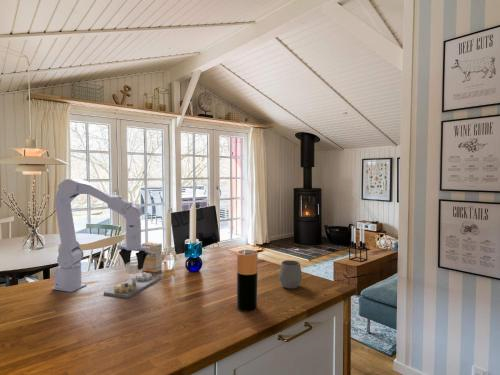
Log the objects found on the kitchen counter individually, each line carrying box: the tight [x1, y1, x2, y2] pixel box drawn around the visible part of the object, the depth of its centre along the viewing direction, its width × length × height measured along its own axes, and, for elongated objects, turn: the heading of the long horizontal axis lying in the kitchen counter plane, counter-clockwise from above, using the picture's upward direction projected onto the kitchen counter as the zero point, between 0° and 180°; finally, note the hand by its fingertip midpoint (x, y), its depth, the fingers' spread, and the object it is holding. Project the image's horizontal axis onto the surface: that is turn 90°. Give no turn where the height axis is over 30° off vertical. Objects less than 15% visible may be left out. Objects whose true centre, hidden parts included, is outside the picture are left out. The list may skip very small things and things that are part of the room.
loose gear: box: [124, 260, 144, 275], centre depth 132 cm, size 5×7×4 cm
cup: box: [278, 259, 303, 290], centre depth 134 cm, size 10×9×10 cm
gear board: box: [103, 271, 162, 299], centre depth 133 cm, size 11×22×4 cm, turn 163°
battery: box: [236, 249, 259, 312], centre depth 113 cm, size 7×7×20 cm
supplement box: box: [141, 241, 163, 273], centre depth 153 cm, size 8×5×13 cm, turn 73°
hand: (134, 268), depth 132 cm, fingers closed on loose gear, 5 cm apart
